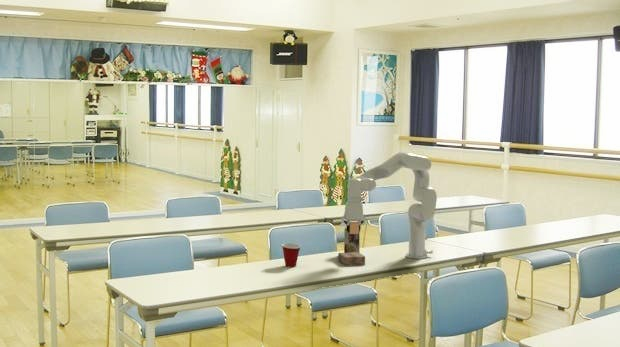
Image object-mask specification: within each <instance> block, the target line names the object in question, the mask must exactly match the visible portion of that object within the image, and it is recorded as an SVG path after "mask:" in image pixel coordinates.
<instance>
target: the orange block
mask: <svg viewBox="0 0 620 347" xmlns="http://www.w3.org/2000/svg"><path fill="white" fill-rule="evenodd" d="M349 226H350V232H349V234H359V223H358V221H350V223H349Z"/></svg>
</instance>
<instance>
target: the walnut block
mask: <svg viewBox="0 0 620 347" xmlns="http://www.w3.org/2000/svg"><path fill="white" fill-rule="evenodd" d="M337 254H338V258H337V259H338V260H337V261H338V262H339V263H340V264H342V265H343V266H344V267H347V266H348V267H349V266H350V265H351V266H365V265H366V256H365V255H363V254H362V253H361V252H360V251H359V252H348V253H344V252H338V253H337ZM351 266H350V267H351Z"/></svg>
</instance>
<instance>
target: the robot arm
mask: <svg viewBox="0 0 620 347" xmlns="http://www.w3.org/2000/svg"><path fill="white" fill-rule="evenodd" d="M403 168H405V169H410V170H412V172H413V175H414V184H413V189H412V197H413V199H414V200H415V201H417V202H420V203H412V204H411V205H410V206H409V207H408V210H407V213H408V214H407V215H408V220H409V221H408V224H409V228H408V229H409V230H408V252H406V253H405V256H406V258H410V259H417V260H419V259H420V260H421V259H426V258H428V255H429V254H430V255H431V254H432V255H433V253H434V251H433V249H432V250H430V249H426V229H427V228H426V223H430V222H432V220H434V217H435V213H436V206H437V198H438V197H437V192H436V190H435V189H434V188H433V187H430V173H429V170H430V169H431V168H432V161H431V160H430V158H429V157H426V156H421V155H417V154H415V153H414V154H413V153H410V152H409V153H408V152H402V151H399V152H397V153H395V154H394V155H393V156H391V157H389V158H388V159H387V160H385V161H384V162H383V163H381V164H379V165H377V166H374V167H373V168H370V169H368V170H366V171H364V172H363V173H362V174H360V175H359V176H358V177H353V178H352V177H351V178H348V181H347V201H346V202H345V206H344V214H343V216H341V218H340V220H341V221H342V222H343V223H344V224H345V225H346V228H347V232H348V233H349V232H350V226H349V223H350V222H351V221H356V222H358V223H359V231H360V232H361V226H362V224H364V223H365V222H366V221H367V217H366V216H365V214H364V207H363V203H362V201H364V198H363V197H362V192H372V191H374V190H375V189H376V187H377V183H376V181H377V180H378V181H379V180H381V179H386V178H390V177H391V176H393V175H395V173H397V172H398V171H399V170H401V169H403Z"/></svg>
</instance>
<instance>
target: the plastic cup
mask: <svg viewBox="0 0 620 347" xmlns="http://www.w3.org/2000/svg"><path fill="white" fill-rule="evenodd" d="M281 247H282V252H283V259H284V265H285V268H296V267H297V263H298V259H299V258H298V257H299V253H300V251H301V250H300V249H301V248H302V245H301V244H298V243H292V242H291V243H289V242H287V243H282V244H281Z"/></svg>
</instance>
